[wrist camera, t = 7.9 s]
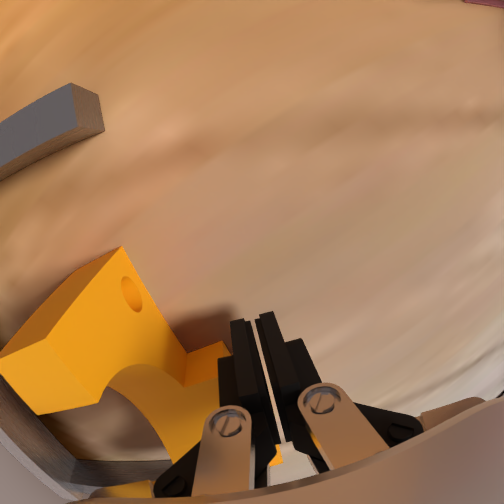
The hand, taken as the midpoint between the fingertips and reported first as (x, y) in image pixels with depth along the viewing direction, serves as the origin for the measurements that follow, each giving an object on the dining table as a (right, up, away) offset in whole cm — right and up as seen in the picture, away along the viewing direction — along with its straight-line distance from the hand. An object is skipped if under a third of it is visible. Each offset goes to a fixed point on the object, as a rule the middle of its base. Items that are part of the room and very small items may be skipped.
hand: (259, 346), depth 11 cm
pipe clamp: (-3, -1, +2) cm, 4 cm away
